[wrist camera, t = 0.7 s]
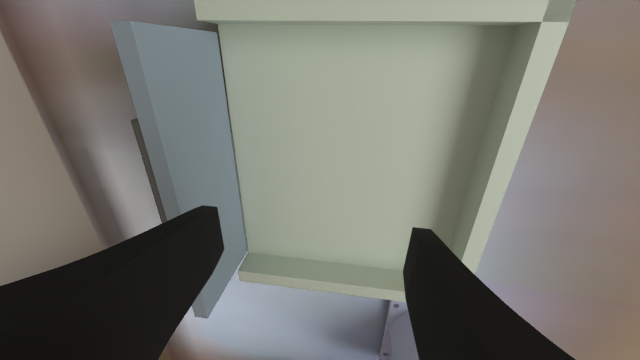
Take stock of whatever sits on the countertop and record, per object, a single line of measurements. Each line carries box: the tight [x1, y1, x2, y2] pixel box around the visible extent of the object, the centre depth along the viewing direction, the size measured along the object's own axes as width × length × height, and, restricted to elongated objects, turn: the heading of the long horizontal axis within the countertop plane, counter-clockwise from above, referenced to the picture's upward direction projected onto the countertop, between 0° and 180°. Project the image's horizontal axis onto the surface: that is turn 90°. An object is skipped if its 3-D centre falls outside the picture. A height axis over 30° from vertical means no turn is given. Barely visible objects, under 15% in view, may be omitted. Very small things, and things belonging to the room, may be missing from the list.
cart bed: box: [194, 0, 577, 302], centre depth 17 cm, size 18×16×4 cm
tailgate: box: [109, 21, 247, 318], centre depth 15 cm, size 15×2×6 cm, turn 179°
